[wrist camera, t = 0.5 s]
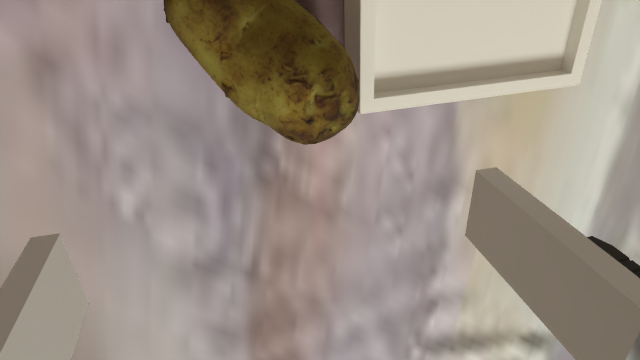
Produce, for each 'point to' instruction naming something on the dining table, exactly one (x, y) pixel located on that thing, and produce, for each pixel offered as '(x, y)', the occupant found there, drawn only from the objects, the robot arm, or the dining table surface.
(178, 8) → the potato
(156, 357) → the dining table surface
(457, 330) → the dining table surface
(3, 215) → the dining table surface
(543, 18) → the rectangular tray
